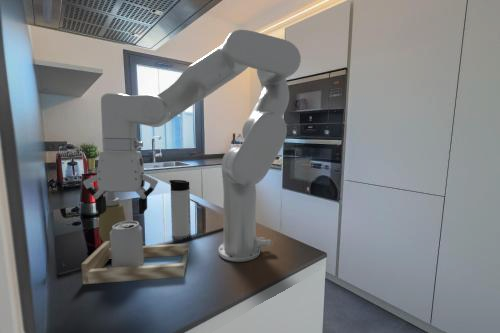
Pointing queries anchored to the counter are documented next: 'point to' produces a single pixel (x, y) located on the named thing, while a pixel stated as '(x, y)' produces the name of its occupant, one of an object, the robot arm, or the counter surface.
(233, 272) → the counter surface
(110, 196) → the squeeze bottle
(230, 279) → the counter surface
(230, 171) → the robot arm
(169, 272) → the frame
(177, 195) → the travel mug
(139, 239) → the can
